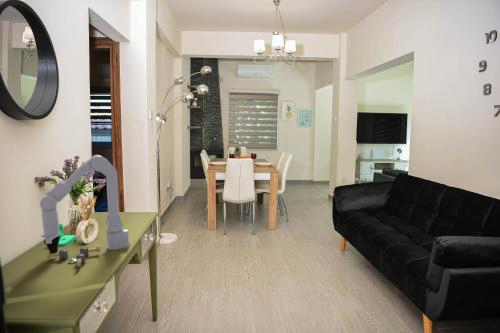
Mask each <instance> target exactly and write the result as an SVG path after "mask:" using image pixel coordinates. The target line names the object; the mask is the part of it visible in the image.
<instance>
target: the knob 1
mask: <svg viewBox="0 0 500 333" xmlns="http://www.w3.org/2000/svg"><path fill="white" fill-rule="evenodd" d="M68 252H69V251H68V249H65V248H64V249H61V250H58V252H57V253H52V254H50V252H49V251H47V252H46V259H47V260H49V259H51V258H55V257H58V258H59V259H58V260H59V261H65V260H69V253H68Z"/></svg>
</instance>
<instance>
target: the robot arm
mask: <svg viewBox="0 0 500 333" xmlns="http://www.w3.org/2000/svg"><path fill="white" fill-rule="evenodd" d="M94 171H96V172H98V173H101V174H102V175H104V176H105V177H106V178H105V179H106V195H107V198H106V199H107V217H106V220H105V223H106V225H107V229H106V240H107V241H106V242H107V243H106V244H107V249H108V250H111V251H112V250H113V251H116V250H120V249H127V248H130V245H131V244H130V240H129V228H128V229H127V228H126V229H124V226H123V225H124V223H123V221H122V220H121V213H120V204H119V202H120V201H119V200H120V199H119V182H118V180H119V179H118V171H117V169H116V168H115V167H114V166H113V164H112V163H111V162H110V161H109V160H108V159H107V158H106V157H104V156H102V155H100V154H94V155H92V156H91V157H90V158H89V159H87V160H86V161H84V162H83V163H82V164H81V165H80V166H79V167H78V168H77V169H76V170H75V171H74V172H73V173H72V174H71V175H70V176H69V177H68V178H67V179H66V180H64V181H62V180H61V181H59V182H56V183H55V184H54V187H53V188H52V189H51V190H50V191H47V192H46V193H45V196H43V197H42V198H41V200H40V202H39V206H40V208H41V218H42V219H41V220H42V228H43V233H42V234H41V235H40V237H41V238H44V241H43V243H44V244H45V245H46V246H47V249H48V252H50V254H52V253H59V246H58V244H59V240H60V238H61V236H59V235H60V231H59V224H60V223H59V215H58V209H57V204H58V203H59V202H62V200H63V199H65V197H66V196H68V194H69V193H71V192H72V186H73V185H74V184H75V183H77V182H78V181H79V180H80V179H81V178H82V177H83V176H84V175H85V174H88V173H93V172H94Z"/></svg>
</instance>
